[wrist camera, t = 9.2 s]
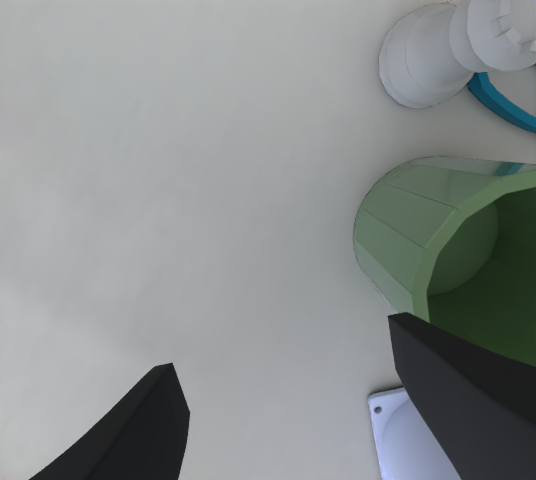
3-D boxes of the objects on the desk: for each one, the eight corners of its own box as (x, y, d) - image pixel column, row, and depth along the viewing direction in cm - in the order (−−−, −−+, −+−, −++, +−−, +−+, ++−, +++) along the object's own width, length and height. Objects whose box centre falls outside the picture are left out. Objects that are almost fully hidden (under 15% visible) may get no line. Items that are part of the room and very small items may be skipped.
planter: (501, 282, 21) (640, 362, 14) (364, 312, 21) (424, 407, 14) (495, 140, 19) (658, 141, 11) (341, 176, 19) (398, 200, 12)
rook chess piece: (357, 54, 18) (435, -12, 10) (433, -10, 17) (581, -136, 9) (406, 127, 19) (511, 119, 11) (479, 69, 18) (646, 16, 10)
